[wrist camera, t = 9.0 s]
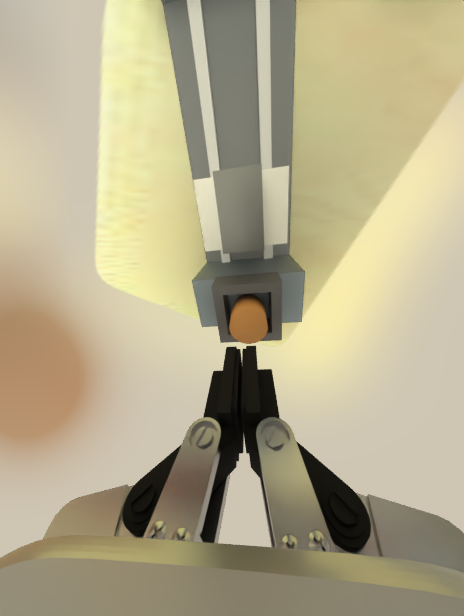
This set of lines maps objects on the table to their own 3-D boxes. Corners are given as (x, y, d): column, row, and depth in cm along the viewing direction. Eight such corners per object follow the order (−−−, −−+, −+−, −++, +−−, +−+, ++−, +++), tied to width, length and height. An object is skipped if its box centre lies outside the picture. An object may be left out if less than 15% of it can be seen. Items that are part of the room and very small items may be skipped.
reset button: (230, 295, 16) (227, 312, 13) (264, 293, 16) (267, 310, 13) (234, 323, 17) (231, 344, 14) (265, 322, 17) (268, 342, 14)
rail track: (155, -77, 14) (-98, -863, 4) (293, -123, 13) (472, -1467, 3) (215, 294, 27) (196, 343, 17) (285, 289, 26) (308, 338, 16)
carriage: (201, 184, 19) (171, 167, 12) (283, 172, 18) (305, 146, 11) (210, 246, 21) (191, 263, 14) (282, 239, 20) (300, 253, 13)
